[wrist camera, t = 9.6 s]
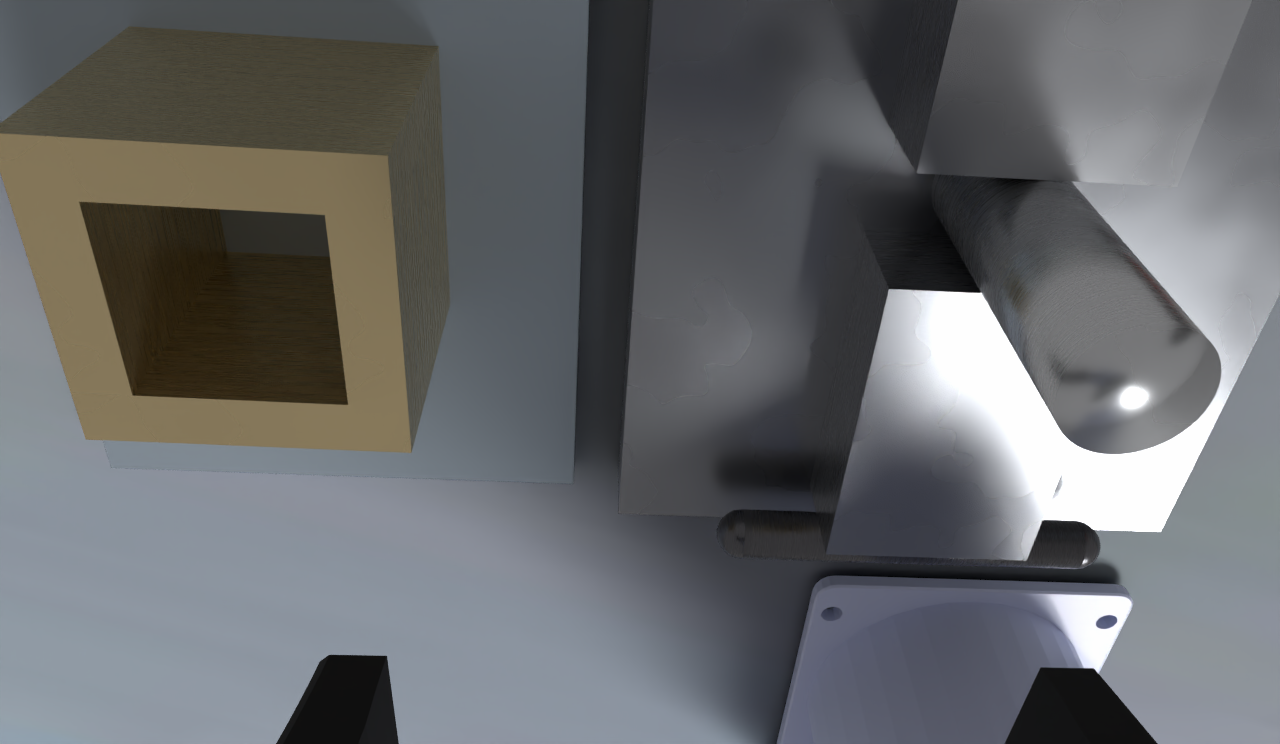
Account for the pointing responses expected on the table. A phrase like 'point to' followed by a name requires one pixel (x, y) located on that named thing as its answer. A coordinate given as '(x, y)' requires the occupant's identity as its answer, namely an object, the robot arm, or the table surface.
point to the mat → (475, 214)
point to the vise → (944, 269)
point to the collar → (195, 244)
